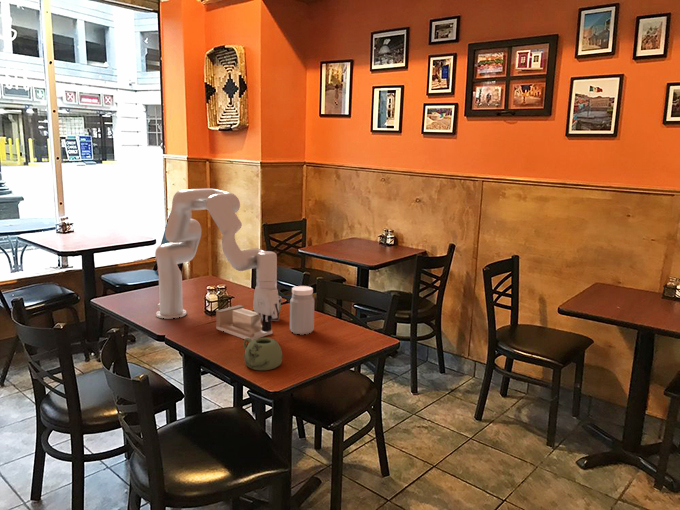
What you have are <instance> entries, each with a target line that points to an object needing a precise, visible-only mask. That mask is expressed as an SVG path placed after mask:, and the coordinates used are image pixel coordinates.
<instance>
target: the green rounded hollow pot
mask: <svg viewBox="0 0 680 510" xmlns="http://www.w3.org/2000/svg"><path fill="white" fill-rule="evenodd" d="M247 342H248V345H247ZM243 348H244V350H245V351H244V355H243V356H244V357H243V359H244V363H245V366H247V367H248V368H250V369H251V370H255V371H271V370H275V369H276V368H278V367H279V366H281V364H282V362H283V352H282V347H281V346H280V344H279V342H278V341H277V340H276V339H274V338H271V337H260V338H257V339H254V340H251V339H250V338H246V339H244V340H243Z"/></svg>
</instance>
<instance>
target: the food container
mask: <svg viewBox="0 0 680 510" xmlns="http://www.w3.org/2000/svg"><path fill="white" fill-rule="evenodd" d="M278 297H279V312H278V313H277V316H278V317H277V318H275V319H272V321H274V322H279V321H280V316H281V309H282V308H281V306H282V304H283V303H284V302H283V298H282V296H281V295H278ZM272 321H271V322H272Z"/></svg>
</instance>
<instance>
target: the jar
mask: <svg viewBox="0 0 680 510" xmlns="http://www.w3.org/2000/svg"><path fill="white" fill-rule="evenodd" d="M313 293H314V288H313V287H311V286H308V285H298V286H294V287H291V298H290V300H289V331H290V332H291V333H292V332H293V333H292V334H294V335H297V334H300V335H301V336H304V334H306V335H309V333H310V334H312V332H313V331H314V329H315V298H314V297H313V296H314V295H313Z"/></svg>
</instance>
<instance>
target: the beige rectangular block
mask: <svg viewBox="0 0 680 510" xmlns="http://www.w3.org/2000/svg"><path fill="white" fill-rule="evenodd" d="M261 325H262V320H261V317H260V315H259V314H257V313H256V312H255V311H254V310H253V311H252V310H249V309H245V308H244V307H243V308H241V309H237V310H233V326H235V327H237V328H240V329H243V330H246V331H249V332H252V333H255V332H259V331H261Z"/></svg>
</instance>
